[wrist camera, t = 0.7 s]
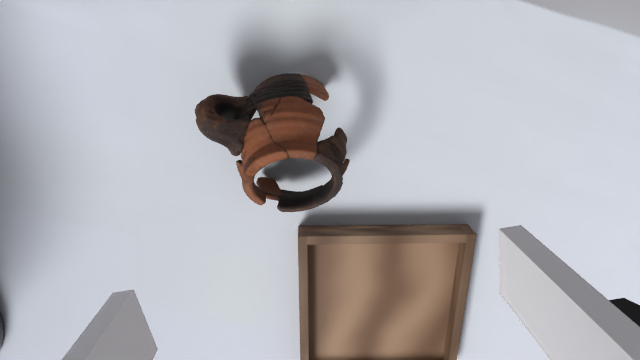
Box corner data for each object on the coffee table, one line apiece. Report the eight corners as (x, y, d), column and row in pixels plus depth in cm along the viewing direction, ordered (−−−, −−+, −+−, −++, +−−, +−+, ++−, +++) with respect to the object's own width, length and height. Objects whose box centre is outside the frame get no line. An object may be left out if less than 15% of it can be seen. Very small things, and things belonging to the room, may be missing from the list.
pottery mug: (360, 84, 31) (378, 158, 26) (313, 158, 38) (320, 229, 33) (213, 32, 27) (199, 109, 22) (187, 126, 33) (172, 203, 28)
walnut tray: (301, 366, 41) (301, 382, 39) (298, 226, 35) (298, 236, 33) (446, 363, 41) (453, 379, 39) (467, 224, 35) (476, 234, 34)
